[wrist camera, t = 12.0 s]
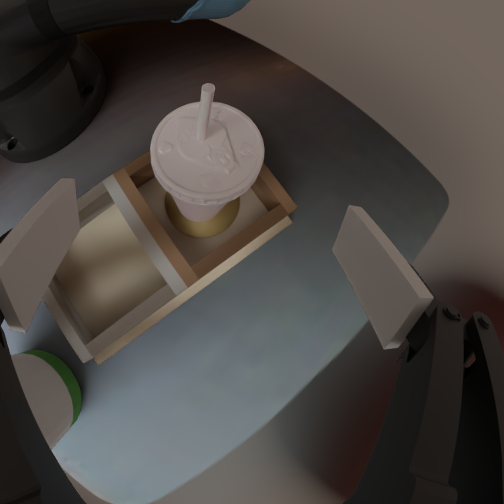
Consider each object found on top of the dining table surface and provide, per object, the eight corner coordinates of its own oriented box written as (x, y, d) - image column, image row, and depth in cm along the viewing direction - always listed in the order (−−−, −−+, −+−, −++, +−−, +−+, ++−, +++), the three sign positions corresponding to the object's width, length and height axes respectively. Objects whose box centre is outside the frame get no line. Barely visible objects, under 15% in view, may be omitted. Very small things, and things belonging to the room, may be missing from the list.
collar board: (34, 250, 21) (13, 242, 17) (214, 128, 27) (219, 104, 23) (101, 363, 21) (87, 373, 17) (288, 225, 27) (305, 213, 23)
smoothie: (201, 153, 25) (222, 32, 11) (252, 203, 25) (319, 109, 12) (146, 199, 23) (110, 95, 10) (197, 254, 24) (212, 196, 10)
